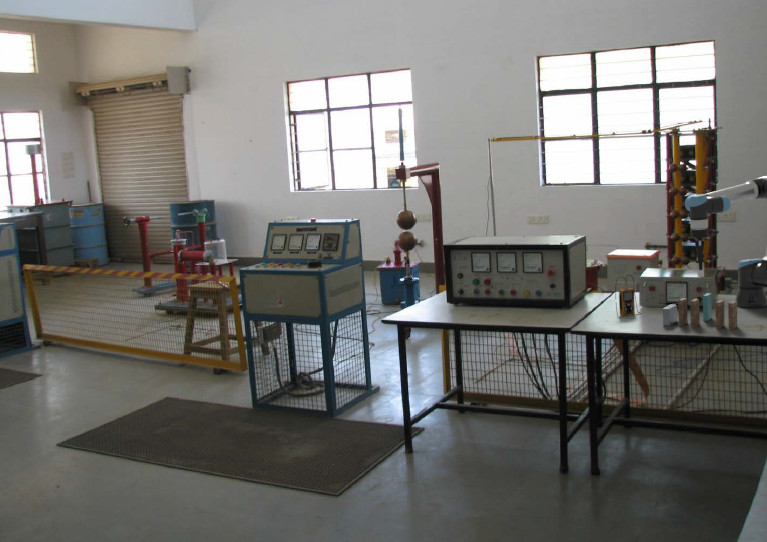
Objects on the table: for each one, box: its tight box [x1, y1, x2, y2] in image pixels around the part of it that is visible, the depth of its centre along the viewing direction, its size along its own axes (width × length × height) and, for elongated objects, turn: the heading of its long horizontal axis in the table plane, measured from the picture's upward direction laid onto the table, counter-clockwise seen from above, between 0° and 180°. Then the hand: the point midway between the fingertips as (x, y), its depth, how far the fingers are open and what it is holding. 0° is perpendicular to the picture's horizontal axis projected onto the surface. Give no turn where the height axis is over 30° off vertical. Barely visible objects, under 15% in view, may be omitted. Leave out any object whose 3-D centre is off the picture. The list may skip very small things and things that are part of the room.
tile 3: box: [702, 292, 713, 322], centre depth 371 cm, size 2×6×12 cm, turn 140°
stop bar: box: [662, 304, 678, 327], centre depth 370 cm, size 3×10×8 cm, turn 141°
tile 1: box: [727, 300, 738, 331], centre depth 351 cm, size 2×6×12 cm, turn 141°
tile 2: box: [714, 299, 725, 330], centre depth 355 cm, size 2×6×12 cm, turn 140°
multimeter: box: [614, 274, 641, 319], centre depth 389 cm, size 15×10×20 cm
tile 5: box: [677, 298, 689, 327], centre depth 365 cm, size 2×6×12 cm, turn 140°
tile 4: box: [689, 298, 701, 328], centre depth 362 cm, size 2×6×12 cm, turn 140°
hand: (700, 274), depth 365 cm, fingers open, 13 cm apart
